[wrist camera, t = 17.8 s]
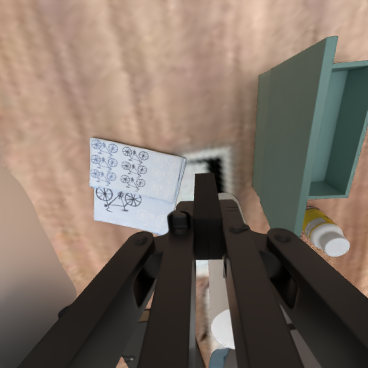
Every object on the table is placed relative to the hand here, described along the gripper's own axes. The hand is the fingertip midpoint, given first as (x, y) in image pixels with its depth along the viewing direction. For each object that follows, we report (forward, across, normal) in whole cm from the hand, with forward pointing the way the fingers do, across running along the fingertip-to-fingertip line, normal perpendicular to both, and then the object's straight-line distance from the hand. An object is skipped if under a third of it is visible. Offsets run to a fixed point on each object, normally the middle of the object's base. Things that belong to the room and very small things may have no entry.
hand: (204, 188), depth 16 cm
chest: (+23, -17, 0) cm, 29 cm away
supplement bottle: (+23, -22, +18) cm, 37 cm away
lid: (+9, -10, 0) cm, 13 cm away
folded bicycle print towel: (+23, +15, +10) cm, 30 cm away
